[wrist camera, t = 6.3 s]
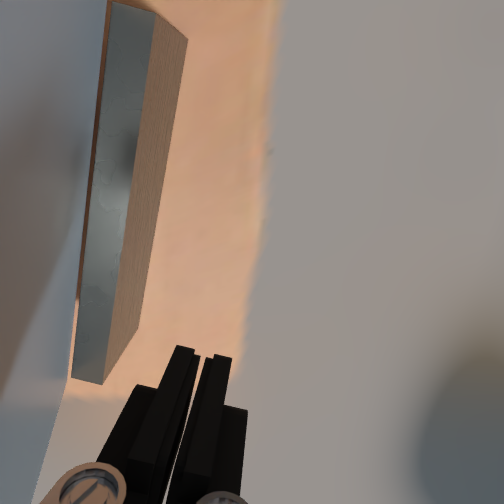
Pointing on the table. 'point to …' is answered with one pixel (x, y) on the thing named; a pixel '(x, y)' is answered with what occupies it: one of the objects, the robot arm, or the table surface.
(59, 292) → the cover
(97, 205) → the long flat gray bar
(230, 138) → the table surface
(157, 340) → the table surface
